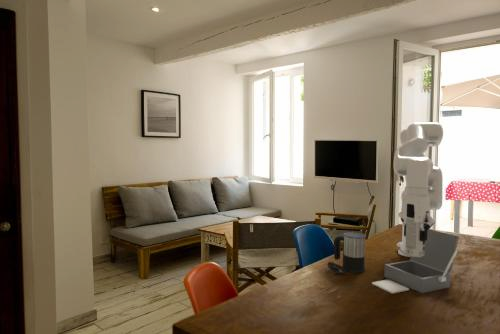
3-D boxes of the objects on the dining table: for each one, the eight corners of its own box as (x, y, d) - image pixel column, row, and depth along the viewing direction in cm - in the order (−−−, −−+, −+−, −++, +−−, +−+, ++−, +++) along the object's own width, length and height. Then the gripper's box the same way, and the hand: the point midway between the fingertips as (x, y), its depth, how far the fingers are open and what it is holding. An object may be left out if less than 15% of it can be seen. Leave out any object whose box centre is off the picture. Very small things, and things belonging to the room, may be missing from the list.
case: (384, 276, 148) (385, 230, 147) (417, 270, 156) (418, 226, 155) (425, 294, 131) (427, 241, 130) (460, 286, 138) (462, 236, 137)
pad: (371, 284, 141) (371, 282, 141) (388, 280, 144) (388, 279, 144) (392, 293, 132) (392, 291, 132) (408, 290, 135) (408, 288, 135)
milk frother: (367, 267, 160) (367, 233, 159) (361, 279, 145) (361, 241, 144) (333, 263, 166) (334, 230, 165) (324, 274, 151) (325, 237, 151)
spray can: (426, 258, 139) (428, 205, 137) (407, 257, 140) (408, 204, 139) (422, 252, 146) (423, 202, 144) (403, 252, 147) (404, 201, 145)
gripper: (391, 189, 147) (390, 233, 149) (429, 195, 131) (427, 245, 133) (405, 187, 150) (404, 231, 152) (444, 194, 135) (442, 242, 136)
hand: (415, 237), depth 142 cm, fingers closed on spray can, 6 cm apart
